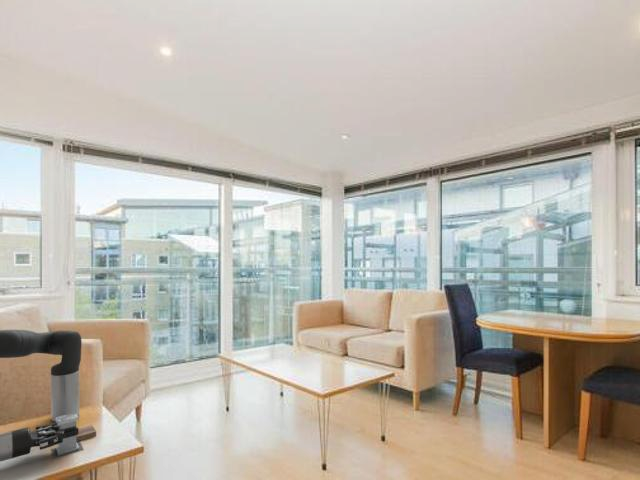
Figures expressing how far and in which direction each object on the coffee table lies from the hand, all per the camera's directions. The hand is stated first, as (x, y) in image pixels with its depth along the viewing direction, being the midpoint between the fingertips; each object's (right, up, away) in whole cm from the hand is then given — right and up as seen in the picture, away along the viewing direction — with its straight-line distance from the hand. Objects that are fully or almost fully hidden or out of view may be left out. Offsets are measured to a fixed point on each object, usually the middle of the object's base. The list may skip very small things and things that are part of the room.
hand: (76, 427), depth 129 cm
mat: (-2, -7, -2) cm, 7 cm away
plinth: (-3, -7, +8) cm, 11 cm away
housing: (-2, -6, -2) cm, 7 cm away
